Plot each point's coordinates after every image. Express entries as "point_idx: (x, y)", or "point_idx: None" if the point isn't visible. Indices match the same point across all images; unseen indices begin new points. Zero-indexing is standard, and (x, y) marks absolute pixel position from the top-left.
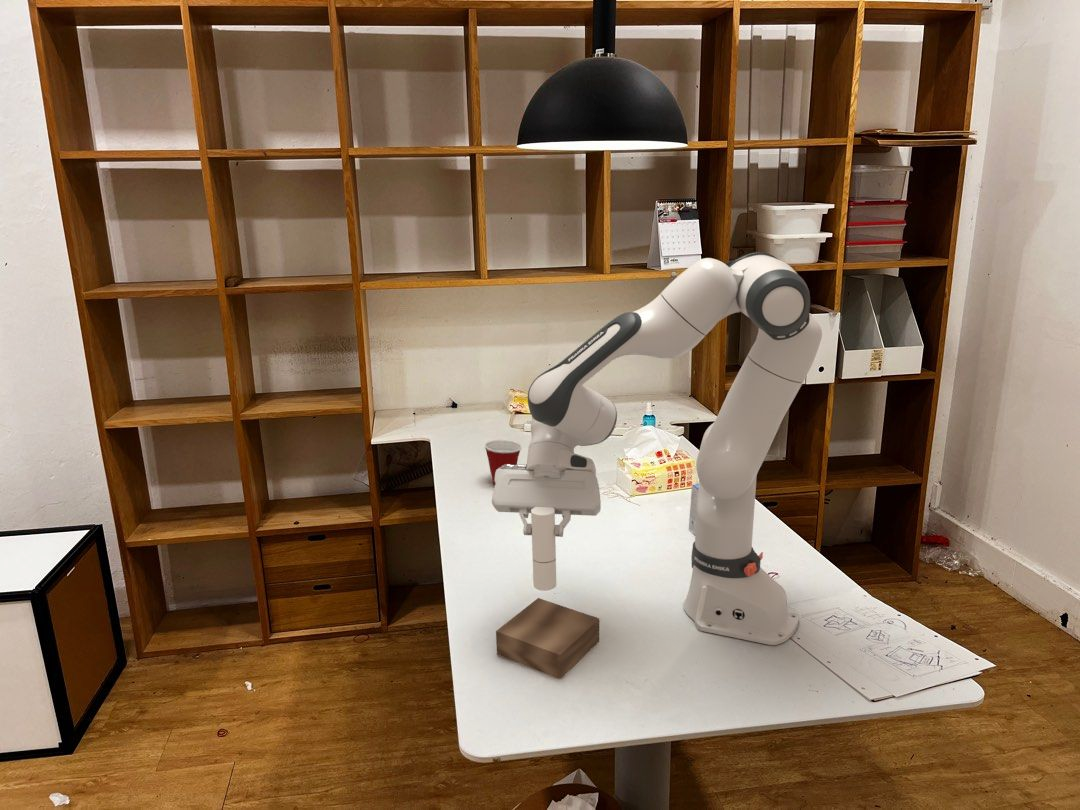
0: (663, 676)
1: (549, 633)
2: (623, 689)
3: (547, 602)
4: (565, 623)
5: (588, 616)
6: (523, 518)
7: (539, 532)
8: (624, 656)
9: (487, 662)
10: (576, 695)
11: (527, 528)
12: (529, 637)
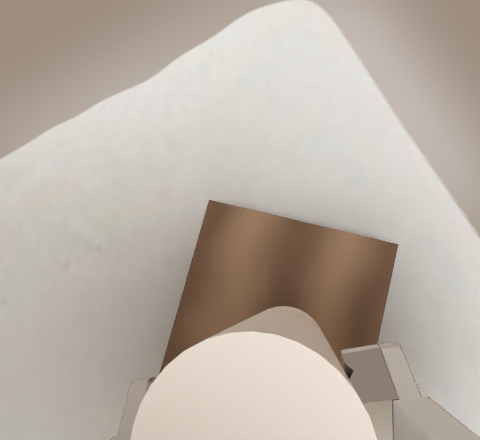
0: (37, 287)
1: (259, 277)
2: (102, 224)
3: None
4: None
5: None
6: (447, 431)
7: (265, 319)
8: (116, 331)
9: (392, 218)
10: (180, 178)
11: (375, 364)
12: (301, 243)
